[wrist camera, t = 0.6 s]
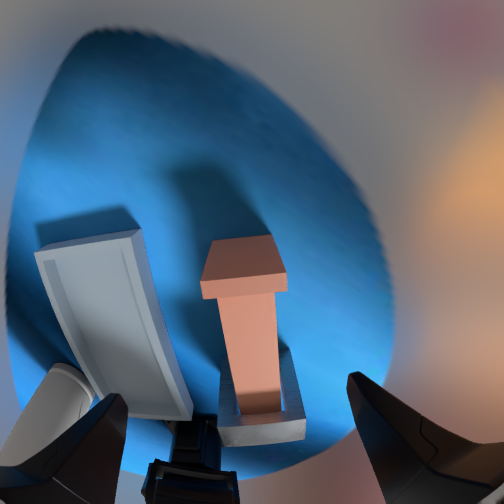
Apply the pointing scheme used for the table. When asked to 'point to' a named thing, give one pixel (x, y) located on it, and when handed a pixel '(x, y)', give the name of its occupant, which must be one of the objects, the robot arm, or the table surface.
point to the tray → (116, 321)
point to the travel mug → (48, 413)
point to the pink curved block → (248, 315)
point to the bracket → (265, 424)
